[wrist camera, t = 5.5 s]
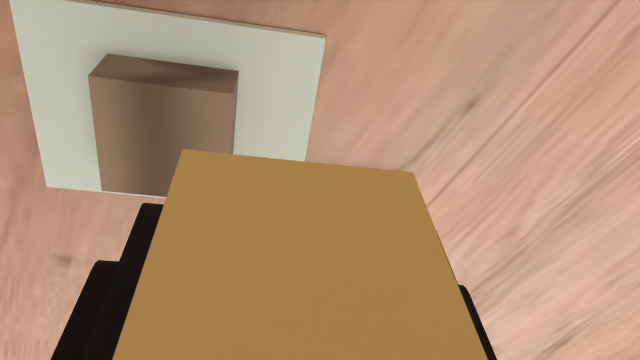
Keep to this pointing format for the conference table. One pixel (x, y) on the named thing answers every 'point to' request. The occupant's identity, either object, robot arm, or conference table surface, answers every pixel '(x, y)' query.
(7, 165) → the conference table surface
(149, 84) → the walnut base brick
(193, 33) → the plate
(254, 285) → the mustard brick
